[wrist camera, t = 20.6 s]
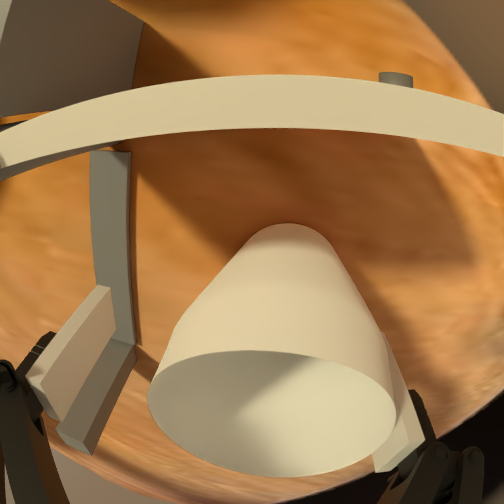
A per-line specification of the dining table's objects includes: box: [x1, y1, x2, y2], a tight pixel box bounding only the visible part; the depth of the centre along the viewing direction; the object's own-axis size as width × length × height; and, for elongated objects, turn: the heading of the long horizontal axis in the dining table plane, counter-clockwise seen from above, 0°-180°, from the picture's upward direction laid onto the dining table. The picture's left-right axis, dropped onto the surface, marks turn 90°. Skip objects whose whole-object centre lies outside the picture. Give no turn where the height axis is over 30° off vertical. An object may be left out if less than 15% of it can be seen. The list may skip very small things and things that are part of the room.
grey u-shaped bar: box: [0, 0, 144, 456], centre depth 14 cm, size 3×28×12 cm, turn 171°
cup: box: [147, 223, 396, 477], centre depth 14 cm, size 9×9×12 cm
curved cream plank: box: [0, 72, 504, 168], centre depth 10 cm, size 16×2×10 cm, turn 91°
